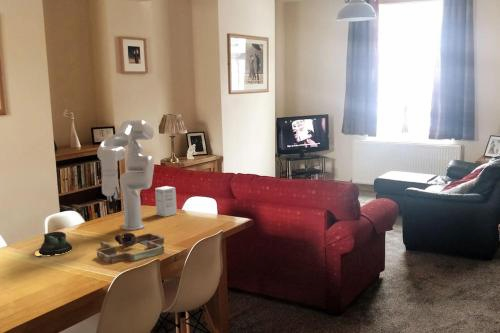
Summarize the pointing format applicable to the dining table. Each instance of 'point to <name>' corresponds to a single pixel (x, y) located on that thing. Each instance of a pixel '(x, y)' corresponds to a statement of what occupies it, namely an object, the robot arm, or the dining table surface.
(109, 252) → the trap lane
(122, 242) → the pottery mug
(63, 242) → the dark green fedora
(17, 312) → the dining table surface
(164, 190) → the supplement box
